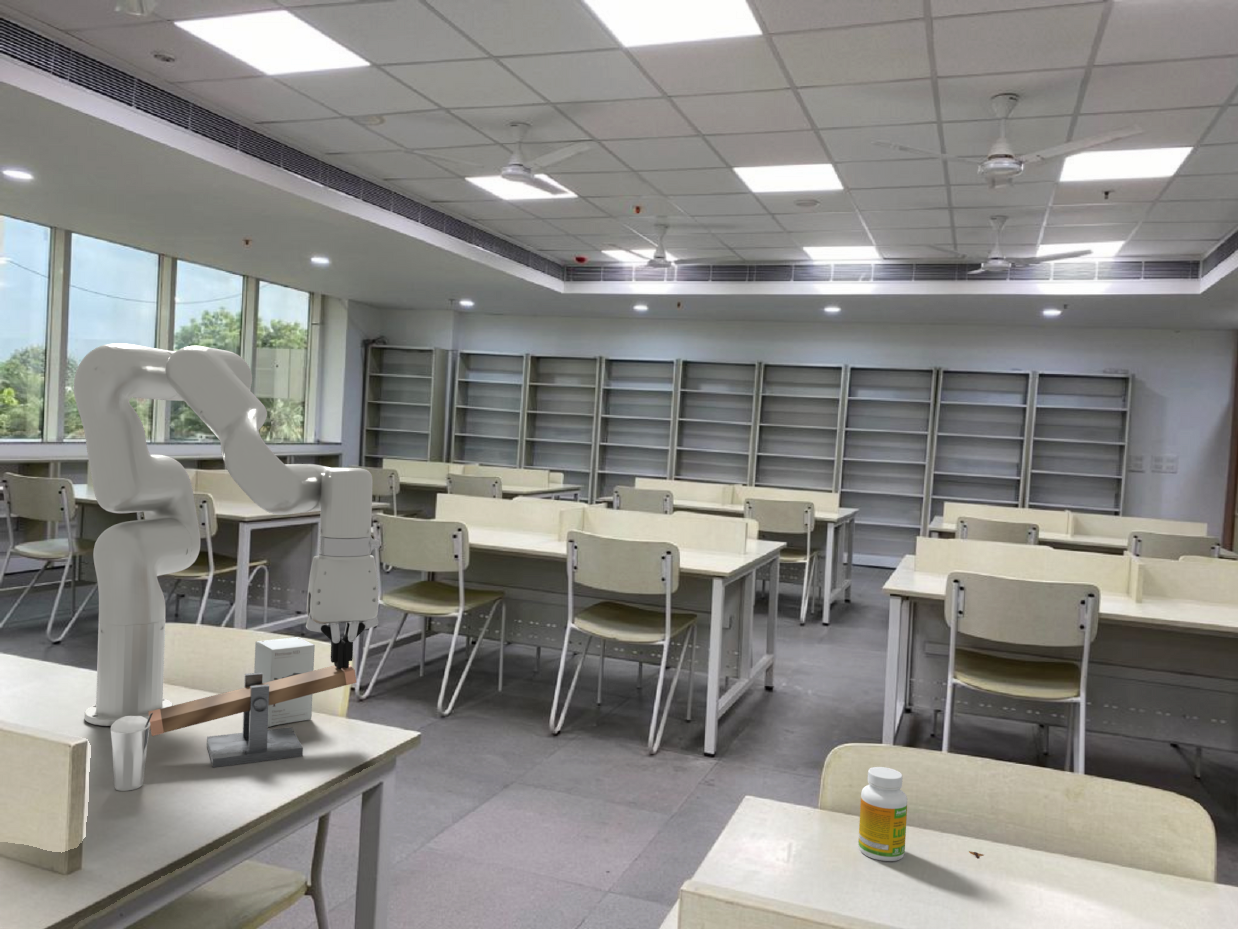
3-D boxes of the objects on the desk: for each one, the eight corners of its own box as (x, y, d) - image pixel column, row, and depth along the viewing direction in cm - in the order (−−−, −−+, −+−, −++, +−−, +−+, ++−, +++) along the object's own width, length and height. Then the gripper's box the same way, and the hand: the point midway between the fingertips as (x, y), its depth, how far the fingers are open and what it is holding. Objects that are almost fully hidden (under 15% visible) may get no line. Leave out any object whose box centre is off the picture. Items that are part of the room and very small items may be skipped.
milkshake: (136, 796, 113) (138, 718, 113) (100, 791, 114) (102, 714, 114) (161, 783, 118) (164, 708, 118) (126, 778, 119) (128, 704, 119)
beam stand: (212, 767, 124) (215, 693, 124) (206, 744, 133) (209, 675, 132) (302, 756, 130) (305, 684, 129) (291, 735, 138) (293, 668, 138)
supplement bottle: (897, 867, 103) (902, 784, 103) (852, 854, 106) (856, 773, 106) (909, 850, 108) (913, 771, 108) (865, 838, 111) (869, 761, 111)
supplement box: (267, 728, 141) (270, 649, 141) (251, 716, 147) (254, 640, 146) (313, 720, 146) (315, 644, 146) (295, 708, 152) (298, 635, 151)
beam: (151, 736, 122) (149, 722, 122) (150, 725, 127) (148, 711, 126) (356, 682, 136) (354, 669, 135) (349, 674, 140) (347, 662, 140)
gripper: (387, 544, 143) (383, 657, 144) (289, 546, 136) (286, 665, 136) (400, 549, 137) (396, 668, 137) (298, 552, 129) (294, 677, 130)
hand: (341, 666), depth 137 cm, fingers closed
